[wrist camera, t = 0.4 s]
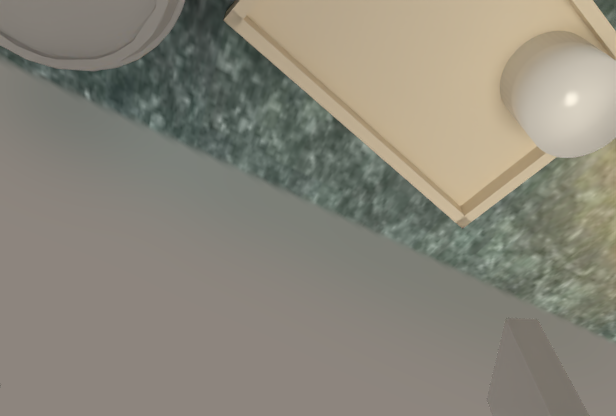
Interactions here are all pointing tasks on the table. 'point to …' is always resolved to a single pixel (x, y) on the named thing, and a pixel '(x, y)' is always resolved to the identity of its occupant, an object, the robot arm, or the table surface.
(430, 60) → the serving tray
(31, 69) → the table surface
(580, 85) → the white rounded cylinder
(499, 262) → the table surface
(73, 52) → the disposable coffee cup
